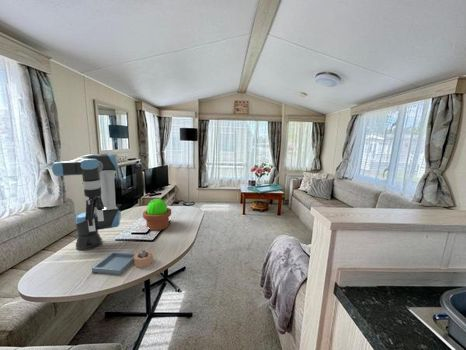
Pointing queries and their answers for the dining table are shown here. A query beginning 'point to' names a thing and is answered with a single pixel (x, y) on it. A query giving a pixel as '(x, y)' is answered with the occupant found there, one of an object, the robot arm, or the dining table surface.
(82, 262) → the dining table surface
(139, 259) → the tan round bowl
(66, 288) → the dining table surface
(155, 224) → the potted cactus
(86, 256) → the dining table surface
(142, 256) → the dark grey rounded piece
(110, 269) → the tray
